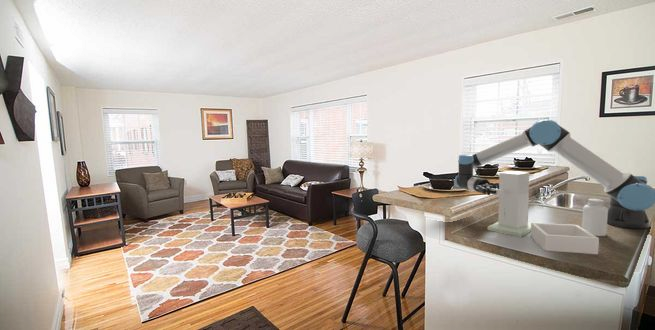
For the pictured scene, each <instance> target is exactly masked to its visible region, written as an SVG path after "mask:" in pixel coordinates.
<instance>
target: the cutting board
mask: <svg viewBox="0 0 655 330" xmlns="http://www.w3.org/2000/svg"><path fill="white" fill-rule="evenodd" d="M531 223H538V222H537V221H535V222H534V221H529V220H528V225H527V226H524V227H521V228H517V229H516V228H512V227H508V226H504V225H501V224H498V221H496V222H494V223H493V224H490V225H488V226H487V230H488V231H491V232H497V233H501V234H506V235H510V236H514V237H519V238H522V237H523V236H525V235H527V234H529V233H531Z"/></svg>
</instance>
